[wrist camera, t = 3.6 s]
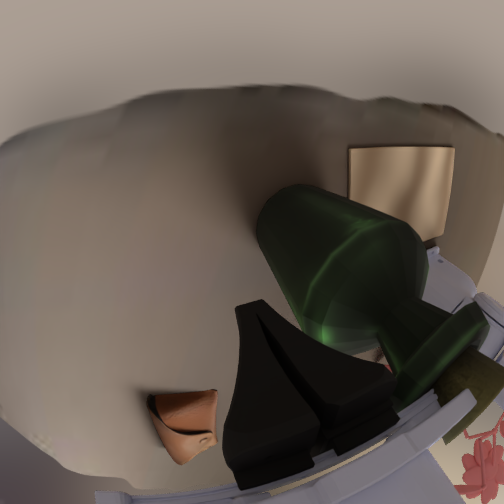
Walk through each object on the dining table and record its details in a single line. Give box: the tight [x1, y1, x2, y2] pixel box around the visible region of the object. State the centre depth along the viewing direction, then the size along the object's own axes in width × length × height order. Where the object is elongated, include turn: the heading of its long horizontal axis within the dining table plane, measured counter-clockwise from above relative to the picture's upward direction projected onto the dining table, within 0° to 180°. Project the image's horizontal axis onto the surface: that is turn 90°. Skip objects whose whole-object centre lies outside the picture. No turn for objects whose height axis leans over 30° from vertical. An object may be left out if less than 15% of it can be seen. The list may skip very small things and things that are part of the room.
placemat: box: [348, 146, 455, 242], centre depth 24 cm, size 16×11×1 cm
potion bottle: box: [256, 184, 504, 445], centre depth 13 cm, size 8×8×18 cm
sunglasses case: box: [147, 389, 218, 465], centre depth 29 cm, size 18×7×7 cm
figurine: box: [371, 349, 504, 504], centre depth 26 cm, size 15×26×35 cm, turn 79°
